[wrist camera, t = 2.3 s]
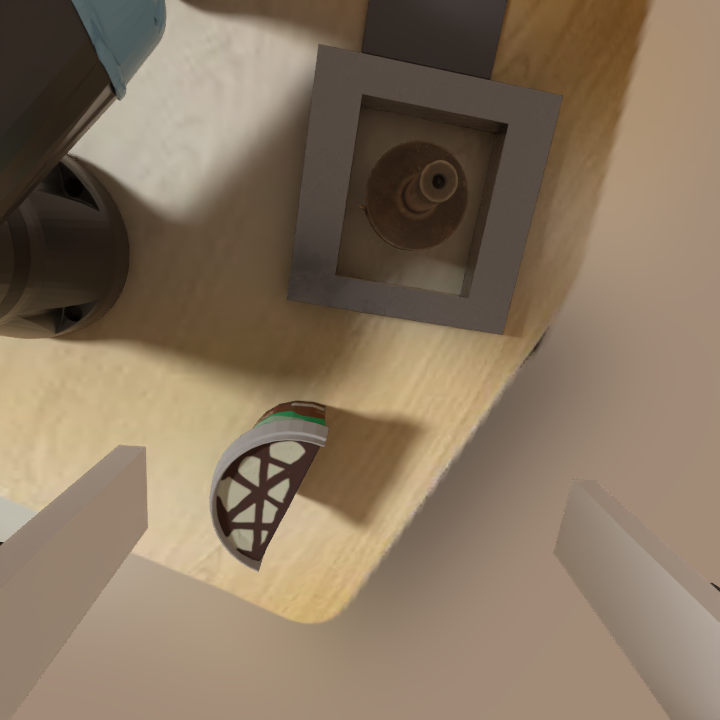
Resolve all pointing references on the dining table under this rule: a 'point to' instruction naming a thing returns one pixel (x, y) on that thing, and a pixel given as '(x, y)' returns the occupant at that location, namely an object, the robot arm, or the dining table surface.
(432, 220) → the industrial component
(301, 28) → the dining table surface
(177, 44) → the dining table surface
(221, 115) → the dining table surface
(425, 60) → the rubber mat
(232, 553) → the food container
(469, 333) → the dining table surface
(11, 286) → the robot arm
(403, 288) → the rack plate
